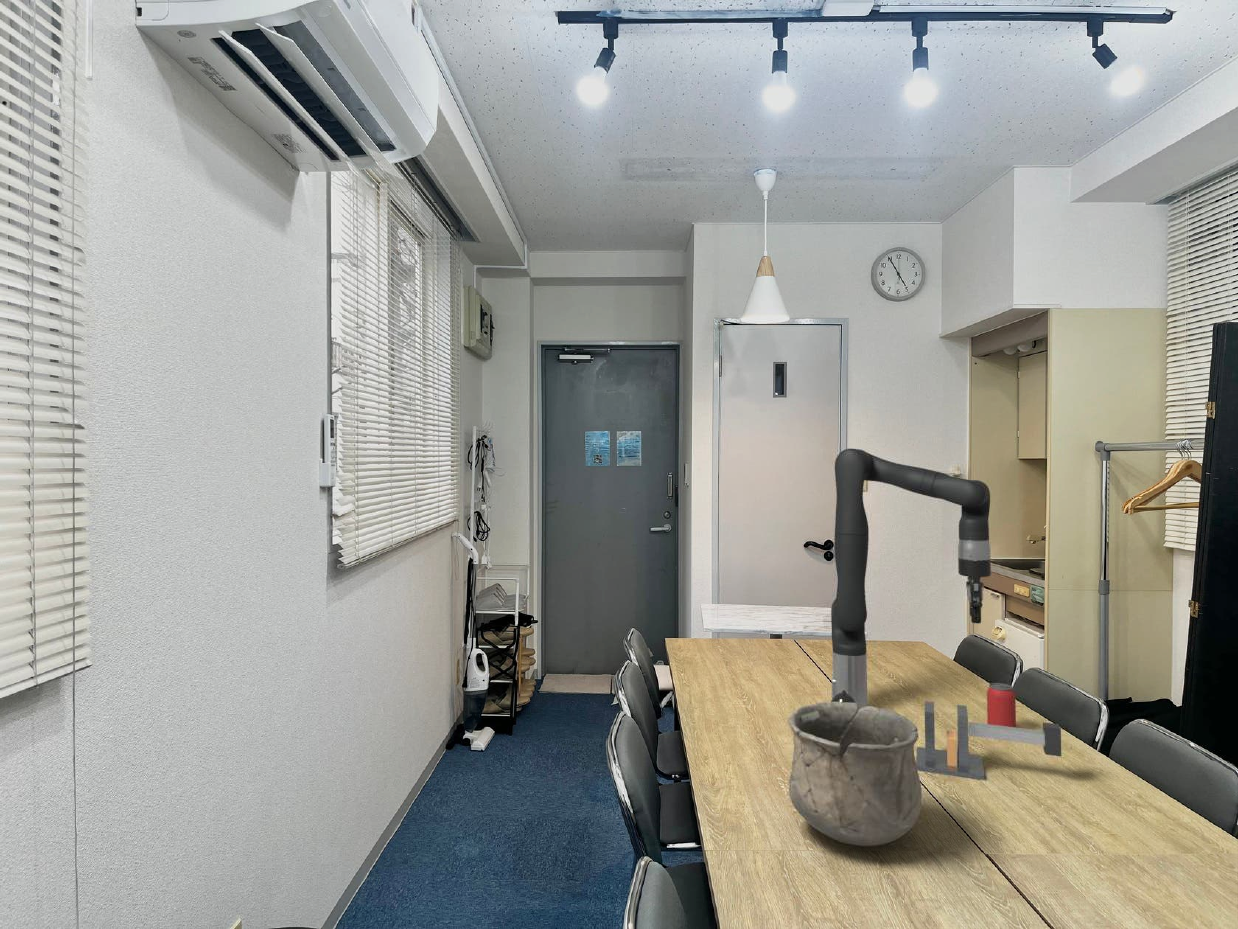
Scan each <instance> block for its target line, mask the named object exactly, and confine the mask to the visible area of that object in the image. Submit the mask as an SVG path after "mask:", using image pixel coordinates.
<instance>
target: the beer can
mask: <svg viewBox="0 0 1238 929" xmlns="http://www.w3.org/2000/svg"><path fill="white" fill-rule="evenodd" d="M1016 700H1017V699H1016V693H1015V691H1014V687H1013V686H1012V685H1010V684H1006V683H1001V682H992V683H989V684H988V688H987V691H986V713H987V714H986V715H987V723H986V724H990V725H999V726H1007V727H1015V728H1017V704H1016V703H1017V702H1016Z"/></svg>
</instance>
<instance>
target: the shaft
mask: <svg viewBox="0 0 1238 929" xmlns="http://www.w3.org/2000/svg"><path fill="white" fill-rule="evenodd" d="M968 737H974V738H975V737H977V738H985V739H991V740H999V741H1007V742H1016V743H1021V744H1022V743H1023V744H1028V745H1030V744H1031V745H1036V746H1037V745H1038V746H1043V752H1044V754H1045V755H1047V756H1053V757H1054V756H1055V757H1062V728H1061V726H1060V725H1059V723H1052V722H1042V730H1038V729H1032V728H1031V729H1030V728H1022V727H1016V728H1015V727H1007V726H999V725H990V724H987V723H981V722H973V721H968Z"/></svg>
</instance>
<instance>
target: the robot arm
mask: <svg viewBox="0 0 1238 929" xmlns="http://www.w3.org/2000/svg"><path fill="white" fill-rule="evenodd" d="M834 476H835V489H836V504H835V521H834V522H835V523H834V541H833V542H834V545H833V548H834V550H833V551H834V560H835V569H836V574H837V575H836V576H837V586H836V594H835V596H836V597H835V599H834V600H833V602H832V604H831V607H830V614H831V615H830V616H831V617H830V618H831V619H830V623H831V642H832V643H831V644H832V679H831V699H832V698H833V697H834V696H835V695H836V694H838V693H842V691H843V690H845V691H846V693H847V694H849V695H851V696H852V697H853V698H854V700H855V701H856V703H858V706H859V709H860V708H863V707H865V706H868V672H867V671H868V670H867V669H868V665H867V663H868V662H867V660H868V659H867V654H868V653H867V640H866V628H865V627H866V621H867V619H868V611H867V601H866V588H865V584H866V573H867V568H868V567H867V565H868V554H869V539H870V538H869V537H870V536H869V528H870V527H869V523H868V518H867V512H866V508H865V506H864V505H865V504H864V486H865V485H864V483H865V482H866V481H867V482H877V483H878V482H879V483H883V484H888V485H890V486H891V485H892V486H894V487H897V488H899V489H903V490H905V491H908V492H911V493H914V494H918V495H922V496H926V497H930V498H934V499H939V500H943V501H945V502H946V501H947V502H949V503H952V504H955V505H958V506H961V511H960V512H961V517H960V519H959V522H958V546H957V561H958V563H957V564H958V566H957V567H958V568H957V569H958V575H960V576H961V577H962V576H963V577H967V580H968V581H965V586H966V587H965V588H966V595H967V600H968V602H969V616H970V617H971V619H970V620H971V623H972V624H981V623H982V608H983V601H984V590H985V589H984V588H985V587H984V582H983V581H982V582H981V578H989V577H990V576H991V574H992V573H991V572H992V566H991V565H992V564H991V563H992V561H991V560H992V559H991V544H990V525H989V517H990V506H991V492H990V488H989V487H988V485H987V484H986V483H985V482H983V481H982V480H977V479H972V480H971V479H966V478H961V477H957V476H951V475H949V474H947V473H945V472H940V471H937V470H933V469H927V468H925V467H924V468H923V467H918V466H913V465H907V464H902V463H897V462H893V461H890V460H886V459H884V458H881V457H878V456H876V455H873V454H871V453H869V452H867V451H866V450H863V449H860V448H846V449H843V450H841V451H840V452H839V454H837V456H836V458H835V461H834Z"/></svg>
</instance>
